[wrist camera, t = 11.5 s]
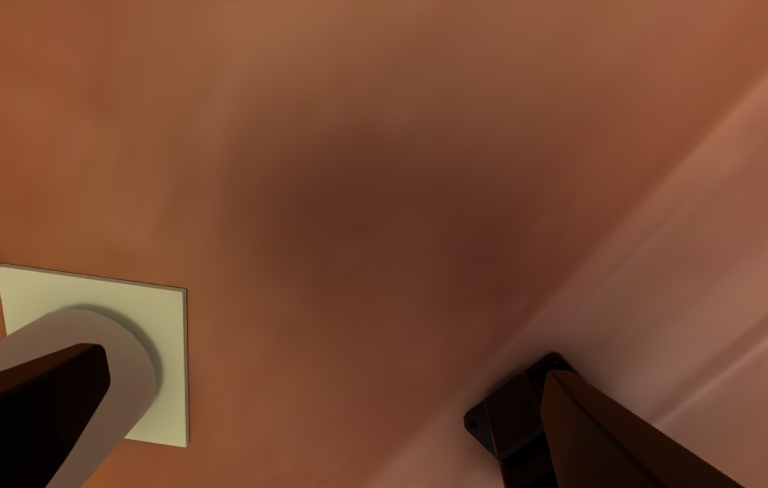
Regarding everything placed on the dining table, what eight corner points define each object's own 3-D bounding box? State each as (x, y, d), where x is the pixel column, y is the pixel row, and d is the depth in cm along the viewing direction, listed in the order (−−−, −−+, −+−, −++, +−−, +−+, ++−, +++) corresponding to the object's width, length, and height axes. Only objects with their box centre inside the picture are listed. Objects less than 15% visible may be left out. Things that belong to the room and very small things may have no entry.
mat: (186, 289, 23) (182, 292, 23) (189, 442, 26) (186, 447, 26) (2, 263, 23) (-5, 266, 23) (26, 418, 26) (21, 422, 26)
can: (137, 439, 26) (-83, 704, 14) (18, 379, 25) (-314, 607, 14) (186, 345, 24) (-29, 568, 12) (56, 276, 23) (-300, 444, 11)
